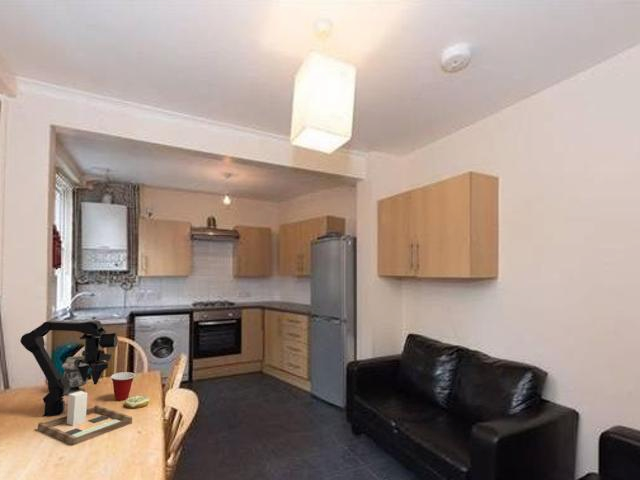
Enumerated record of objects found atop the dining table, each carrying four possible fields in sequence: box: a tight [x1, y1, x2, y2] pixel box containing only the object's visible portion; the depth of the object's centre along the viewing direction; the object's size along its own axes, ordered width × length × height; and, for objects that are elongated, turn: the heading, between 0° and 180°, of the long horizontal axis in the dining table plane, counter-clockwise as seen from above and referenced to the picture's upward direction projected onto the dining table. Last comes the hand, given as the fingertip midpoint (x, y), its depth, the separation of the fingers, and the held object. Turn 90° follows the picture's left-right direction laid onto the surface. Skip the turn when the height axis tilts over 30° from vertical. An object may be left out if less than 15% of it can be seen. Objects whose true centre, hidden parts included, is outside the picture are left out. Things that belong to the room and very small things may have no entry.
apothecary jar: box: [61, 355, 89, 396], centre depth 194 cm, size 12×12×18 cm
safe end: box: [73, 419, 120, 437], centre depth 149 cm, size 8×21×1 cm, turn 151°
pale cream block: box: [66, 391, 88, 427], centre depth 157 cm, size 5×5×12 cm
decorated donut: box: [124, 394, 150, 409], centre depth 178 cm, size 10×11×4 cm
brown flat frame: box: [37, 405, 133, 446], centre depth 153 cm, size 26×24×2 cm
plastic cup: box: [110, 371, 136, 402], centre depth 185 cm, size 11×11×12 cm
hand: (90, 382), depth 169 cm, fingers open, 9 cm apart
